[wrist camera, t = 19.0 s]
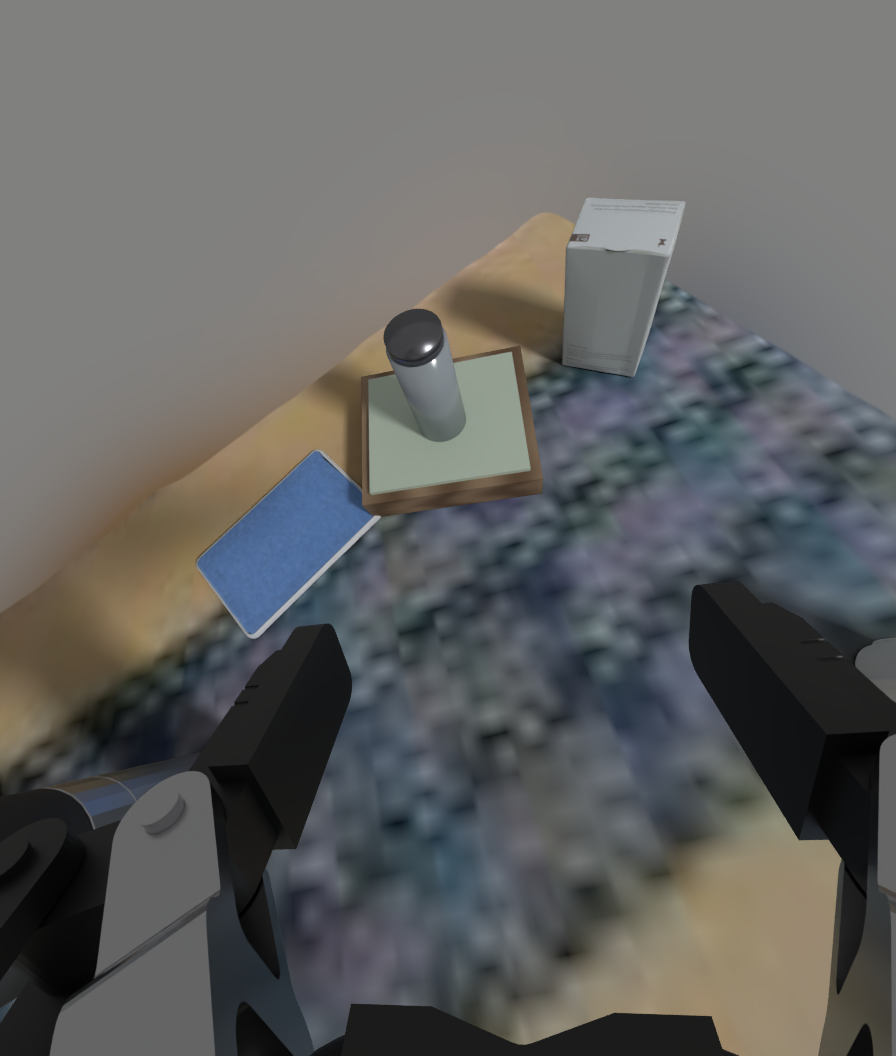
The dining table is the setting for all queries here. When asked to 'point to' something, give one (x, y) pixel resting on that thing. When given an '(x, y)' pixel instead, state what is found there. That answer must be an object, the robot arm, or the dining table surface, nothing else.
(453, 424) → the ceramic jar
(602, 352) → the skincare box
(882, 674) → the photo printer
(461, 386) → the plinth
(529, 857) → the dining table surface
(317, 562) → the blue notebook
